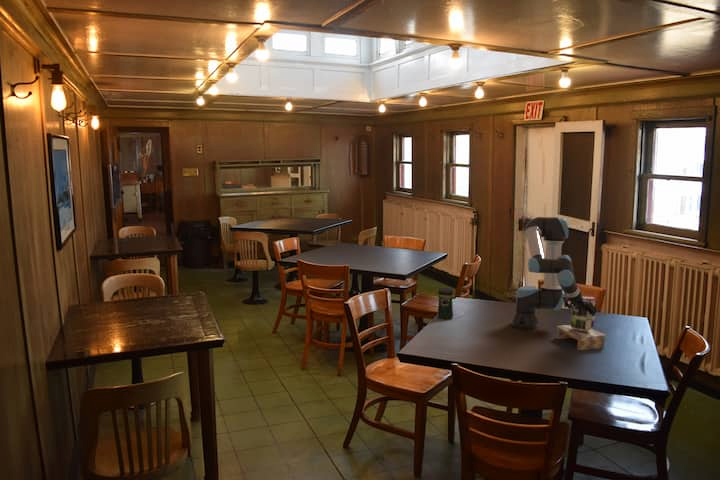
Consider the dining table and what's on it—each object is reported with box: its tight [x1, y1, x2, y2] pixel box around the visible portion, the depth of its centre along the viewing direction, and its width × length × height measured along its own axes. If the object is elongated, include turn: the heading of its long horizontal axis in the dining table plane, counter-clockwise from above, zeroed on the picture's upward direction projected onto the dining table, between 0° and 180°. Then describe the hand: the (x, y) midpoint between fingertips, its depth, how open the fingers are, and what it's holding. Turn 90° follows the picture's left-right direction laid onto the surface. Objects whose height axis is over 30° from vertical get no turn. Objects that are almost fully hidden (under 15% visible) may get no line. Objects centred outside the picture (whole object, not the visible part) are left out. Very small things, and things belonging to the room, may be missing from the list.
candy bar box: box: [582, 296, 597, 326], centre depth 347 cm, size 11×5×16 cm, turn 84°
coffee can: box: [570, 303, 593, 331], centre depth 312 cm, size 10×10×14 cm
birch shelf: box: [556, 324, 606, 351], centre depth 314 cm, size 16×20×7 cm
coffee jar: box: [436, 287, 455, 320], centre depth 355 cm, size 10×8×19 cm
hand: (584, 316), depth 314 cm, fingers closed on coffee can, 10 cm apart
